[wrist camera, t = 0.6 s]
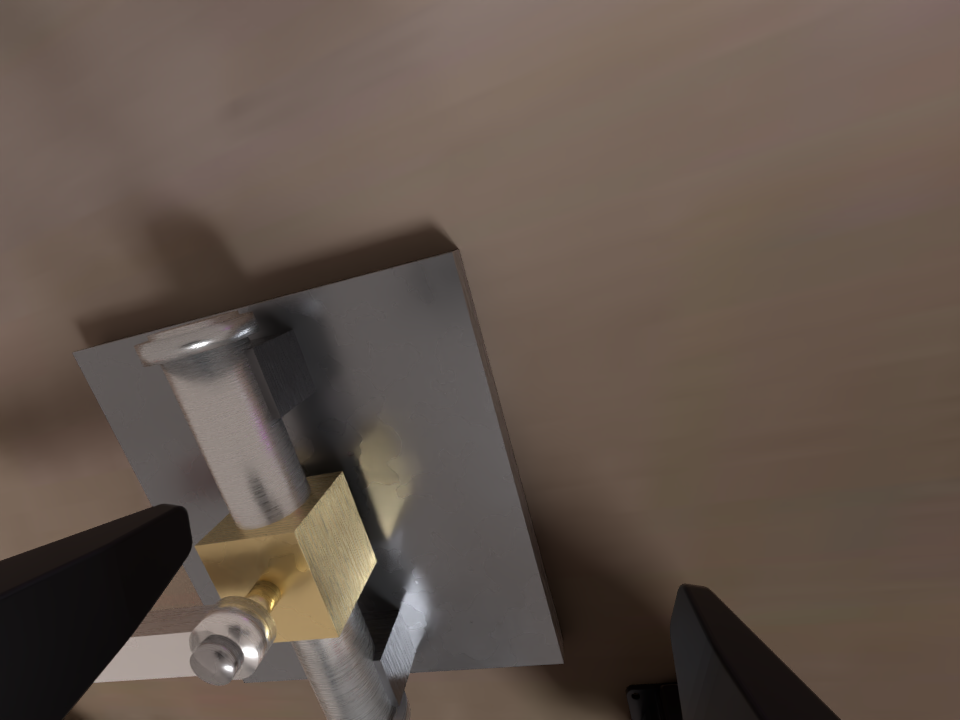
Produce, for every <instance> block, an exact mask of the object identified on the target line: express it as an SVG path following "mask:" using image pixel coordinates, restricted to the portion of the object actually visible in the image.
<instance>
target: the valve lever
mask: <svg viewBox="0 0 960 720" xmlns="http://www.w3.org/2000/svg"><path fill="white" fill-rule="evenodd" d="M276 635H277V629H276V624H275V622H274V620H273V618H272V616H271V615H270V613H269V612H268V611H267V610H266V609H265V608H264V607H263V606H261V605H260V604H258V603H257V602H255V601H253V600H251V599H249V598H246V597H241V596H227V597H224V598H222V599H220V600H219V601H218V602H217V603H216V604H213V605H204V606H194V607H185V608H175V609H165V610H156V611H149V613H148V614H147V616H146V617H145V619H144V620H143V621H142V623H141V624H140V625H139V627H138V628H137V630H136V631H135V632H134V634H133V635H132V636H131V637H130V639H129V640H128V641H127V642H126V644H125V645H124V646H123V647H122V649H121V650H120V651H119V652H118V654H117V655H116V656H115V657H114V658H113V660H112V661H111V662H110V663H109V664H108V666H107V667H106V668H105V669H104V670H103V672H102V673H101V674H100V675H99V677H98V678H97V679H96V680H95V681H94V683H96V682H111V681H126V680H141V679H157V678H172V677H187V676H198V677H199V678H200V679H201V680H203V681H205V682H207V683H209V684H212V685H218V686H221V685H226V684H228V683H229V682H230V681H231V680H239V679H244V678H247V677H249V676H250V675H252V674H253V673H254V671H255V670H256V668H257V667H258V665H259V664H260V662H261V661H262V659H263V657H264V656H265V654H266V653H267V651H268V650H269V648H270V647H271V645H272V643H273V642H274V640H275V638H276Z"/></svg>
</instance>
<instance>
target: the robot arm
mask: <svg viewBox="0 0 960 720" xmlns="http://www.w3.org/2000/svg"><path fill="white" fill-rule="evenodd" d="M192 544H193V540H192V534H191V528H190V521H189V515H188V511H187V510H186V508H185V507H183V506H180V505H173V504H159V505H156V506H153V507H151V508H148V509H145V510H142V511H139V512H136V513H134V514H131V515H128V516H125V517H122V518H120V519H117V520H114V521H111V522H108V523H106V524H103V525H100V526H97V527H94V528H92V529H89V530H86V531H83V532H80V533H77V534H75V535H72V536H69V537H66V538H63V539H61V540H58V541H55V542H52V543H49V544H47V545H44V546H41V547H38V548H35V549H33V550H30V551H27V552H24V553H21V554H18V555H16V556H13V557H10V558H7V559H4V560H2V561H0V720H63V719H64V718H65V716H66V715H67V714H68V713H69V712H70V710H71V709H72V708H73V707H74V706H75V704H76V703H77V702H78V701H79V700H80V698H81V697H82V696H83V695H84V693H85V692H86V691H87V690H88V689H89V687H90V686H91V685H92V684H93V683H94V681H95V680H96V679H97V678H98V677H99V675H100V674H101V673H102V672H103V670H104V669H105V668H106V667H107V666H108V664H109V663H110V662H111V661H112V660H113V658H114V657H115V656H116V655H117V654H118V652H119V651H120V650H121V649H122V647H123V646H124V645H125V644H126V642H127V641H128V640H129V639H130V637H131V636H132V635H133V634H134V632H135V631H136V630H137V628H138V627H139V625H140V624H141V623H142V621H143V620H144V619H145V617H146V616H147V614H148V613H149V611H150V610H151V609H152V607H153V606H154V604H155V603H156V601H157V600H158V599H159V597H160V596H161V594H162V593H163V591H164V590H165V589H166V587H167V586H168V584H169V583H170V581H171V580H172V579H173V577H174V576H175V574H176V573H177V571H178V570H179V569H180V567H181V566H182V564H183V563H184V562H185V560H186V559H187V557H188V556H189V554H190V552H191V549H192ZM670 636H671V643H672V650H673V656H674V663H675V670H676V676H677V683H662V684H641V685H630V686H629V687H627V689H626V695H627V700H628V704H629V709H630V713H631V717H632V720H841V719H840V718H839V717H838V716H837V715H836V714H835V713H834V712H833V711H832V710H831V709H830V708H829V707H828V706H827V705H826V704H825V703H824V702H823V701H822V700H821V699H820V698H819V697H818V696H817V695H816V694H815V693H814V692H813V691H812V690H811V689H810V688H809V687H808V686H807V685H806V684H805V683H804V682H803V681H802V680H801V679H800V678H799V677H798V676H797V675H796V674H795V673H794V672H793V671H792V670H791V669H790V668H789V667H788V666H787V665H786V664H785V663H784V662H783V661H782V660H780V659H779V658H778V657H777V656H776V655H775V654H774V653H773V652H772V651H771V650H770V649H769V648H768V647H767V646H766V645H765V644H764V643H763V642H762V641H761V640H760V639H759V638H758V637H757V636H756V635H755V634H754V633H753V632H752V631H751V630H750V629H749V628H748V627H747V626H746V625H745V624H744V623H743V622H742V621H741V620H740V619H739V618H738V617H737V616H736V615H735V614H734V613H733V612H732V611H731V610H730V609H729V608H728V607H727V606H726V605H725V604H724V603H723V602H722V601H721V600H720V599H719V598H718V597H717V596H716V595H715V594H714V593H713V592H712V591H711V590H710V589H709V588H707V587H704V586H698V585H692V584H682V585H681V586H680V587H679V589H678V592H677V597H676V601H675V605H674V609H673V613H672V618H671V623H670ZM633 693H638V694H637V695H634V694H633Z"/></svg>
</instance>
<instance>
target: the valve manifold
mask: <svg viewBox="0 0 960 720" xmlns="http://www.w3.org/2000/svg"><path fill="white" fill-rule="evenodd" d="M73 355H74V357H75V359H76V361H77V363H78V365H79V367H80V368H81V370H82V372H83V374H84V376H85V378H86V380H87V382H88V384H89V386H90V388H91V390H92V392H93V393H94V395H95V397H96V399H97V401H98V403H99V405H100V407H101V409H102V411H103V413H104V415H105V416H106V418H107V420H108V422H109V424H110V426H111V428H112V430H113V432H114V434H115V436H116V438H117V440H118V441H119V443H120V445H121V447H122V449H123V451H124V453H125V455H126V457H127V459H128V461H129V463H130V464H131V466H132V468H133V470H134V472H135V474H136V476H137V478H138V480H139V482H140V484H141V486H142V487H143V489H144V491H145V493H146V495H147V497H148V499H149V501H150V503H151V505H152V507H153V506H156V505H159V504H173V505H180V506H183V507H185V508H186V510H187V511H188V515H189V521H190V528H191V534H192V540H193V544H192V549H191V552H190V554H189V556H188V557H187V559H186V560H185V562H184V563H183V566H184V568H185V570H186V572H187V574H188V576H189V578H190V580H191V582H192V583H193V585H194V587H195V589H196V591H197V593H198V595H199V597H200V599H201V601H202V603H203V605H213V604H216V603H217V602H218V601H219V600H220V599H222V598H224V597H227V596H241V597H246V598H249V599H251V600H253V601H255V602H257V603H258V604H260V605H261V606H263V607H264V608H265V609H266V610H267V611H268V612H269V613H270V615H271V616H272V618H273V620H274V622H275V624H276V629H277V635H276V638H275V640H274V642H273V643H272V645H271V647H270V648H269V650H268V651H267V653H266V654H265V656H264V657H263V659H262V661H261V662H260V664H259V665H258V667H257V668H256V670H255V671H254V673H253V674H252V675H250V676H249V677H247V678H244V679H243V681H244V683H250V682H267V681H283V680H300V679H308V680H309V682H310V684H311V686H312V688H313V691H314V693H315V695H316V697H317V699H318V701H319V703H320V705H321V708H322V710H323V712H324V714H325V716H326V718H327V720H410V704H409V701H408V698H407V696H406V693H405V691H404V689H405V686H406V682H407V679H408V676H409V673H416V672H433V671H450V670H466V669H483V668H500V667H516V666H533V665H550V664H564V654H563V637H562V633H561V629H560V625H559V622H558V618H557V614H556V610H555V607H554V603H553V599H552V595H551V592H550V588H549V584H548V581H547V577H546V573H545V569H544V566H543V562H542V558H541V554H540V551H539V547H538V543H537V539H536V536H535V532H534V528H533V524H532V521H531V517H530V513H529V509H528V506H527V502H526V498H525V494H524V491H523V487H522V483H521V479H520V476H519V472H518V468H517V464H516V461H515V457H514V453H513V449H512V446H511V442H510V438H509V434H508V431H507V427H506V423H505V419H504V416H503V412H502V408H501V404H500V401H499V397H498V393H497V389H496V386H495V382H494V378H493V375H492V371H491V367H490V363H489V360H488V356H487V352H486V348H485V345H484V341H483V337H482V333H481V330H480V326H479V322H478V318H477V315H476V311H475V307H474V303H473V300H472V296H471V292H470V288H469V285H468V281H467V277H466V273H465V270H464V266H463V262H462V258H461V255H460V251H459V249H458V250H454V251H450V252H446V253H443V254H439V255H435V256H431V257H427V258H424V259H420V260H416V261H412V262H409V263H405V264H401V265H397V266H394V267H390V268H386V269H382V270H378V271H375V272H371V273H367V274H363V275H360V276H356V277H352V278H348V279H345V280H341V281H337V282H333V283H329V284H326V285H322V286H318V287H314V288H311V289H307V290H303V291H299V292H296V293H292V294H288V295H284V296H281V297H277V298H273V299H269V300H265V301H262V302H258V303H254V304H250V305H247V306H243V307H239V308H235V309H232V310H228V311H224V312H220V313H216V314H213V315H209V316H205V317H201V318H198V319H194V320H190V321H186V322H183V323H179V324H175V325H171V326H167V327H164V328H160V329H156V330H152V331H149V332H145V333H141V334H137V335H134V336H130V337H126V338H122V339H118V340H115V341H111V342H107V343H103V344H100V345H96V346H93V347H90V348H86V349H83V350H80V351H76V352H73Z"/></svg>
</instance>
